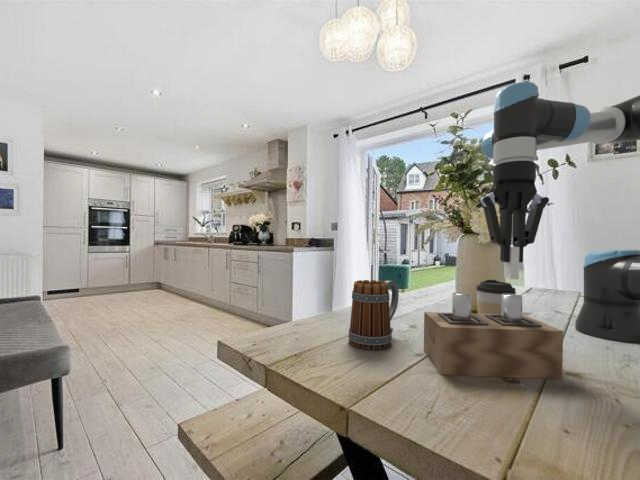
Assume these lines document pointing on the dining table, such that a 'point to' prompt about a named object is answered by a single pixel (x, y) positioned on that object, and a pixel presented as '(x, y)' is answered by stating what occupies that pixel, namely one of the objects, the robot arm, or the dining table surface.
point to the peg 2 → (511, 308)
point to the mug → (372, 314)
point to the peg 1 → (461, 307)
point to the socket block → (493, 346)
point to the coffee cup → (492, 296)
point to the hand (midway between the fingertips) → (511, 278)
